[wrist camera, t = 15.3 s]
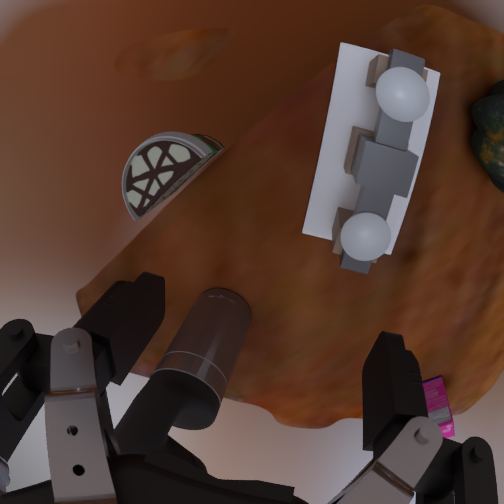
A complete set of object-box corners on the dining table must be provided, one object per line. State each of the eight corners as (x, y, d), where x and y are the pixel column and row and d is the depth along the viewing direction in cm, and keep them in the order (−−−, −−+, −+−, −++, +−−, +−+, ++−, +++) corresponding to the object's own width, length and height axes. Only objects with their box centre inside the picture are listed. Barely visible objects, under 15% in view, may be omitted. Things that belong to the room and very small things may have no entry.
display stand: (388, 249, 40) (399, 281, 33) (302, 228, 41) (297, 257, 34) (436, 73, 28) (461, 69, 21) (340, 44, 30) (344, 30, 23)
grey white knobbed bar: (374, 53, 26) (384, 43, 20) (419, 67, 25) (438, 62, 20) (330, 244, 36) (330, 270, 31) (371, 253, 36) (377, 281, 30)
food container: (202, 104, 37) (166, 108, 28) (233, 140, 38) (206, 154, 29) (142, 164, 42) (100, 184, 33) (170, 197, 44) (133, 224, 35)
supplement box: (444, 390, 50) (454, 437, 40) (417, 399, 52) (424, 447, 42) (442, 373, 48) (454, 423, 38) (413, 383, 50) (420, 433, 40)
